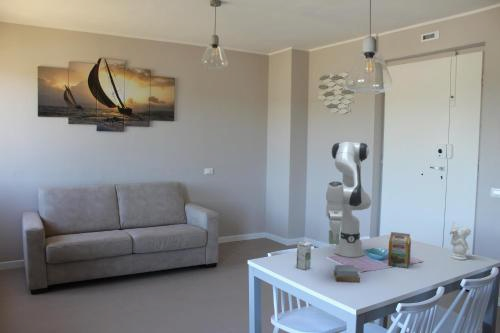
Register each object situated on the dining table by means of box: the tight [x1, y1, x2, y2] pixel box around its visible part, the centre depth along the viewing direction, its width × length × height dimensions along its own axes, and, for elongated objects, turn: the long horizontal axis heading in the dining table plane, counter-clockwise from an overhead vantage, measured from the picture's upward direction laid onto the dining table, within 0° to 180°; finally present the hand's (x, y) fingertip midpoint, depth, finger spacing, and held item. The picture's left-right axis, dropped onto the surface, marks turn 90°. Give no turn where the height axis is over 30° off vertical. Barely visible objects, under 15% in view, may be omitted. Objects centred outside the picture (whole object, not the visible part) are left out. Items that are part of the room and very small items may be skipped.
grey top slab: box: [334, 264, 359, 277], centre depth 234 cm, size 10×10×3 cm
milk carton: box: [387, 231, 412, 270], centre depth 259 cm, size 11×11×19 cm
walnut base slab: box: [333, 269, 361, 284], centre depth 234 cm, size 12×12×3 cm
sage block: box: [328, 229, 340, 245], centre depth 234 cm, size 5×5×6 cm
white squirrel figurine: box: [449, 221, 472, 261], centre depth 273 cm, size 12×12×22 cm
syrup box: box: [296, 241, 312, 270], centre depth 250 cm, size 6×6×14 cm
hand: (333, 238), depth 234 cm, fingers closed on sage block, 5 cm apart
